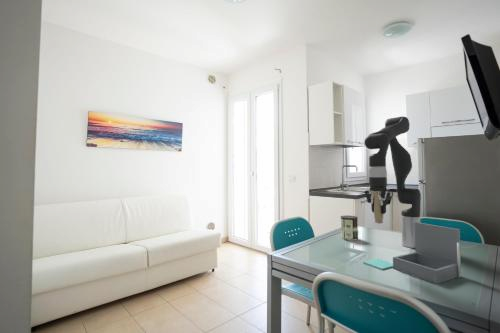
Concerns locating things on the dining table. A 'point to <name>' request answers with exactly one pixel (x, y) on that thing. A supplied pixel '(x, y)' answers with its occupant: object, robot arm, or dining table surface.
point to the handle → (377, 208)
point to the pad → (379, 264)
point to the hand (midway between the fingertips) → (378, 212)
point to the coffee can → (349, 227)
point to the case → (432, 254)
